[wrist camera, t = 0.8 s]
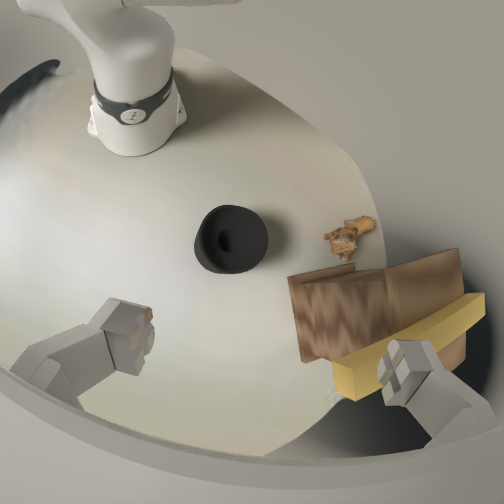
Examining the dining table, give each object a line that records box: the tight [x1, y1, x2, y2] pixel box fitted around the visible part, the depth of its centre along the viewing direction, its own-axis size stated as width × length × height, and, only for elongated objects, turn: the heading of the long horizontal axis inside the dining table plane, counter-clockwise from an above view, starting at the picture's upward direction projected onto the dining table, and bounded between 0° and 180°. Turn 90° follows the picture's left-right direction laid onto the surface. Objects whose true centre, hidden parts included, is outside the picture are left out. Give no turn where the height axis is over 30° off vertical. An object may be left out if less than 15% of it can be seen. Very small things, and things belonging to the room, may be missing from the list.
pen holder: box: [194, 205, 268, 274], centre depth 42 cm, size 9×9×10 cm
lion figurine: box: [323, 216, 375, 262], centre depth 50 cm, size 15×5×9 cm, turn 128°
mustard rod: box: [332, 293, 485, 401], centre depth 24 cm, size 3×24×3 cm, turn 101°
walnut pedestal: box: [287, 248, 466, 407], centre depth 39 cm, size 16×14×26 cm
